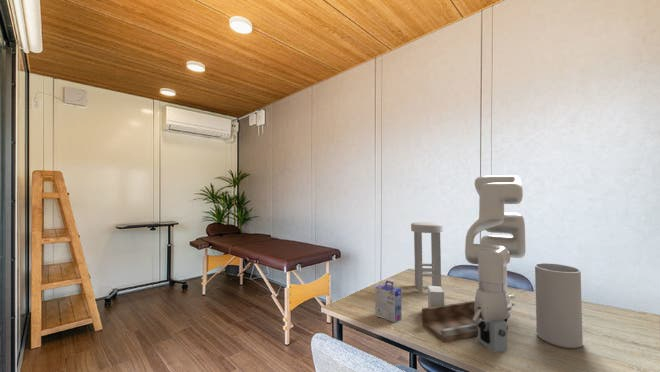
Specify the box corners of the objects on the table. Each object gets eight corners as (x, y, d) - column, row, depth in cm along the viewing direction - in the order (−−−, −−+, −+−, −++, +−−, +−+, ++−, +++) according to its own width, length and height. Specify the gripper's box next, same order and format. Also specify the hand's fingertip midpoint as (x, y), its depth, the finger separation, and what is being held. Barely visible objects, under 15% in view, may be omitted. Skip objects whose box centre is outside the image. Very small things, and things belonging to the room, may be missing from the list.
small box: (444, 318, 117) (444, 292, 117) (430, 317, 118) (430, 291, 118) (441, 310, 125) (440, 286, 125) (427, 309, 126) (427, 285, 126)
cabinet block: (489, 339, 100) (489, 313, 100) (509, 351, 92) (509, 323, 92) (478, 341, 99) (477, 315, 99) (497, 353, 91) (497, 325, 91)
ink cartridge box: (402, 318, 117) (401, 283, 117) (395, 323, 113) (395, 286, 113) (381, 311, 124) (381, 278, 124) (374, 316, 119) (374, 281, 120)
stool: (410, 284, 160) (409, 221, 161) (439, 285, 158) (438, 222, 159) (414, 293, 145) (413, 225, 146) (446, 295, 143) (445, 225, 143)
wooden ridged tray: (480, 315, 119) (479, 300, 119) (507, 330, 106) (507, 312, 106) (422, 325, 111) (421, 308, 111) (444, 342, 98) (444, 323, 98)
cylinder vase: (569, 353, 91) (567, 274, 91) (528, 335, 102) (527, 265, 103) (590, 344, 96) (588, 270, 96) (549, 328, 107) (548, 261, 108)
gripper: (501, 280, 102) (502, 331, 102) (462, 285, 98) (463, 338, 97) (520, 286, 95) (521, 341, 95) (479, 292, 90) (480, 350, 90)
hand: (492, 339), depth 96 cm, fingers open, 5 cm apart
